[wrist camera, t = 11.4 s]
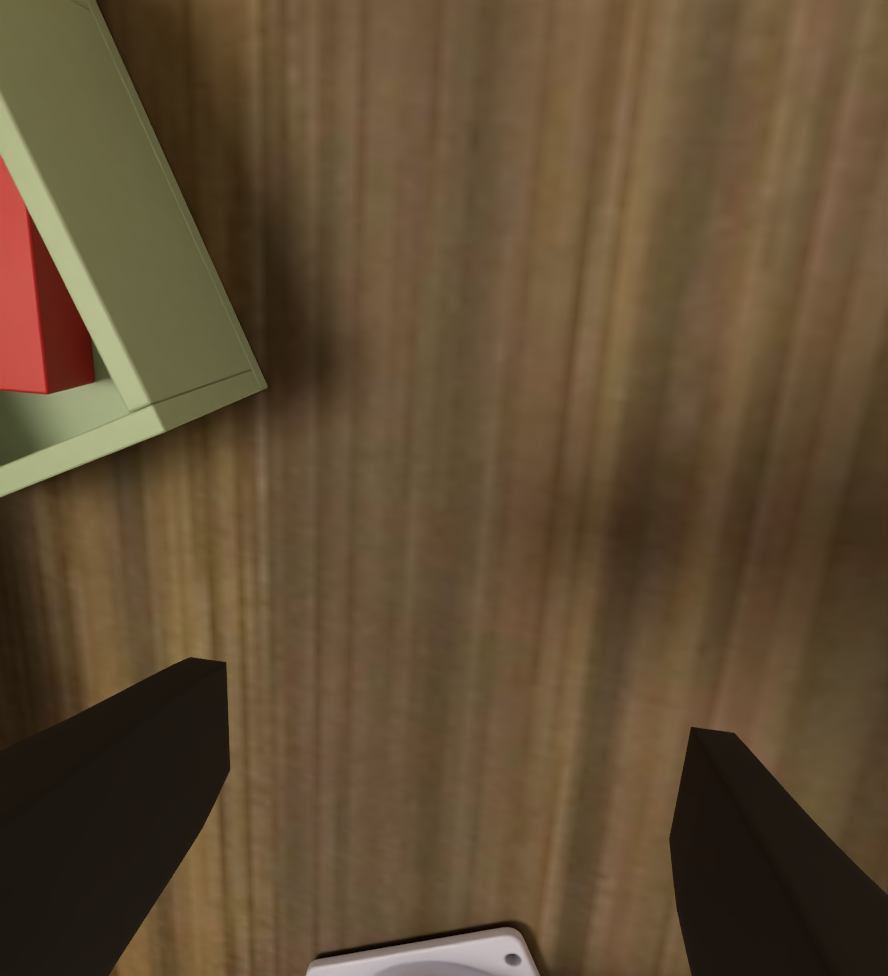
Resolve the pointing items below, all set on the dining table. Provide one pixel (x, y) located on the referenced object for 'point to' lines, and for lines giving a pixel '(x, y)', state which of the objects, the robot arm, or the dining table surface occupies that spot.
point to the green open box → (107, 250)
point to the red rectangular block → (36, 308)
